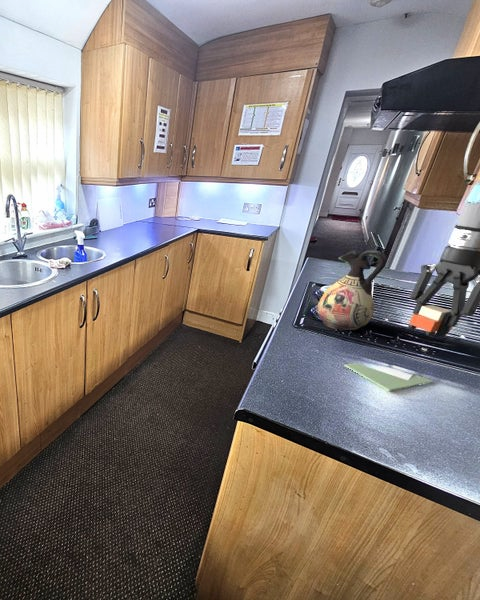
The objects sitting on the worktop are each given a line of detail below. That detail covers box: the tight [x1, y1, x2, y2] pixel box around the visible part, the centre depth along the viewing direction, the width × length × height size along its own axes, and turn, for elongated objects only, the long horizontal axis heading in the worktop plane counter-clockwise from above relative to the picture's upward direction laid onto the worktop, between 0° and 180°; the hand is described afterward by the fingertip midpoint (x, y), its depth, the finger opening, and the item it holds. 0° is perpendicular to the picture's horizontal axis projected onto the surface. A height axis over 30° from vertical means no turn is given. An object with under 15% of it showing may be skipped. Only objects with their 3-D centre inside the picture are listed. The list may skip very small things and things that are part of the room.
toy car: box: [407, 304, 453, 337], centre depth 89 cm, size 8×5×7 cm, turn 104°
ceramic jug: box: [317, 249, 387, 331], centre depth 112 cm, size 17×15×30 cm
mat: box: [343, 362, 433, 392], centre depth 92 cm, size 16×12×1 cm
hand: (427, 330), depth 90 cm, fingers closed on toy car, 5 cm apart
